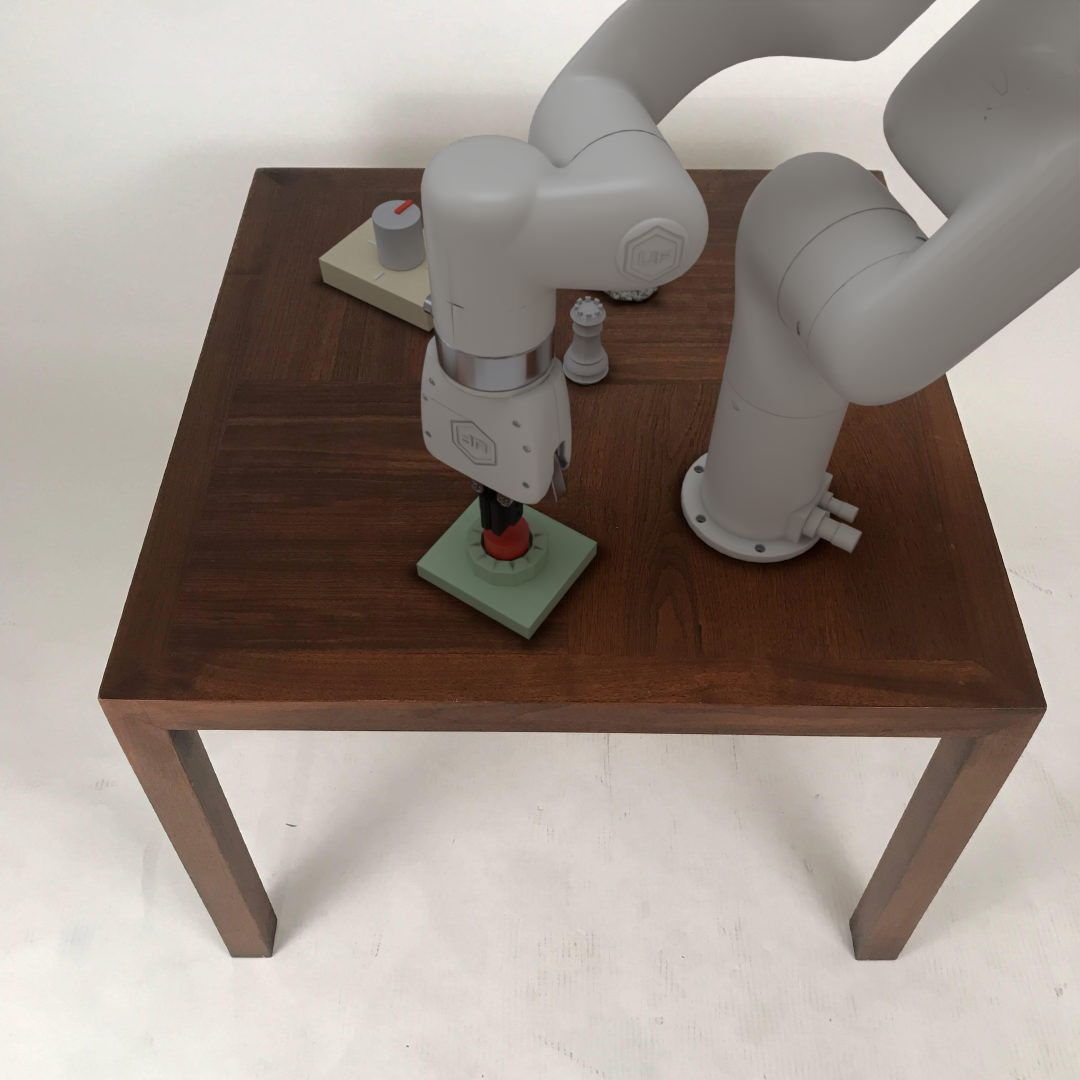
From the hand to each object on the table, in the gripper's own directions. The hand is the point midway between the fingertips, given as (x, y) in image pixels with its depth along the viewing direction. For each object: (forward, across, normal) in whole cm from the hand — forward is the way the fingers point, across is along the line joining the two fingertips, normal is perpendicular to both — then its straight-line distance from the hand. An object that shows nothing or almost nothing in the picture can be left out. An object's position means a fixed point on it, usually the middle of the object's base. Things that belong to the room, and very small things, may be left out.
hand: (501, 520), depth 76 cm
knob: (+3, -30, +24) cm, 39 cm away
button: (+3, 0, 0) cm, 3 cm away
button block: (+6, 0, 0) cm, 6 cm away
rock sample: (+6, -11, +37) cm, 39 cm away
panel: (+6, -30, +24) cm, 39 cm away
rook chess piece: (+6, -7, +23) cm, 25 cm away
